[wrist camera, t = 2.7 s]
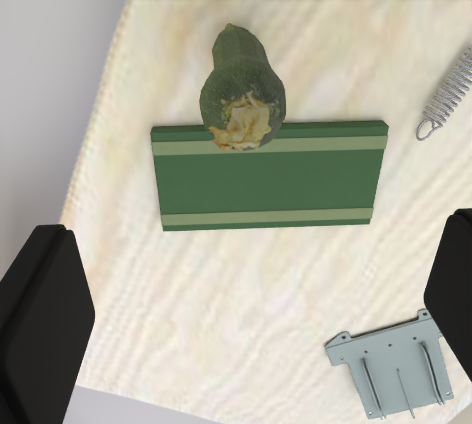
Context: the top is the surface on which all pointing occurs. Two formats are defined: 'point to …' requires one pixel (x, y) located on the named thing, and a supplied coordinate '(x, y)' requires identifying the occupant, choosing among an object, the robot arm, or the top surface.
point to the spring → (448, 97)
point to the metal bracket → (395, 366)
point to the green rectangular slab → (269, 177)
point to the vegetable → (241, 93)
